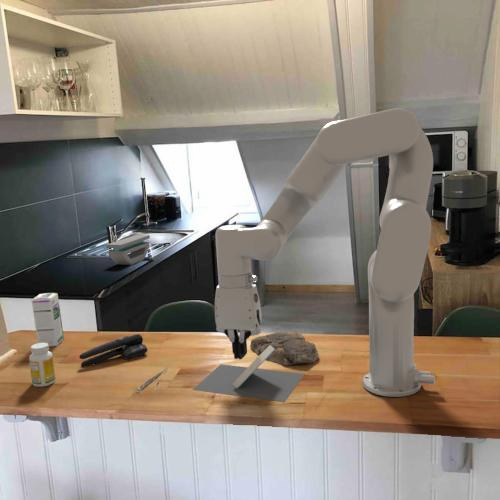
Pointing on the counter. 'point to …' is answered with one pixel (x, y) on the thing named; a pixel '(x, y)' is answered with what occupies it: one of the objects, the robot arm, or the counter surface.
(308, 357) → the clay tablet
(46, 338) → the syrup box
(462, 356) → the counter surface
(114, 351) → the can opener
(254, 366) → the tile
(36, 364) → the supplement bottle
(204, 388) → the mat
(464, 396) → the counter surface
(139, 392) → the old metal nails
